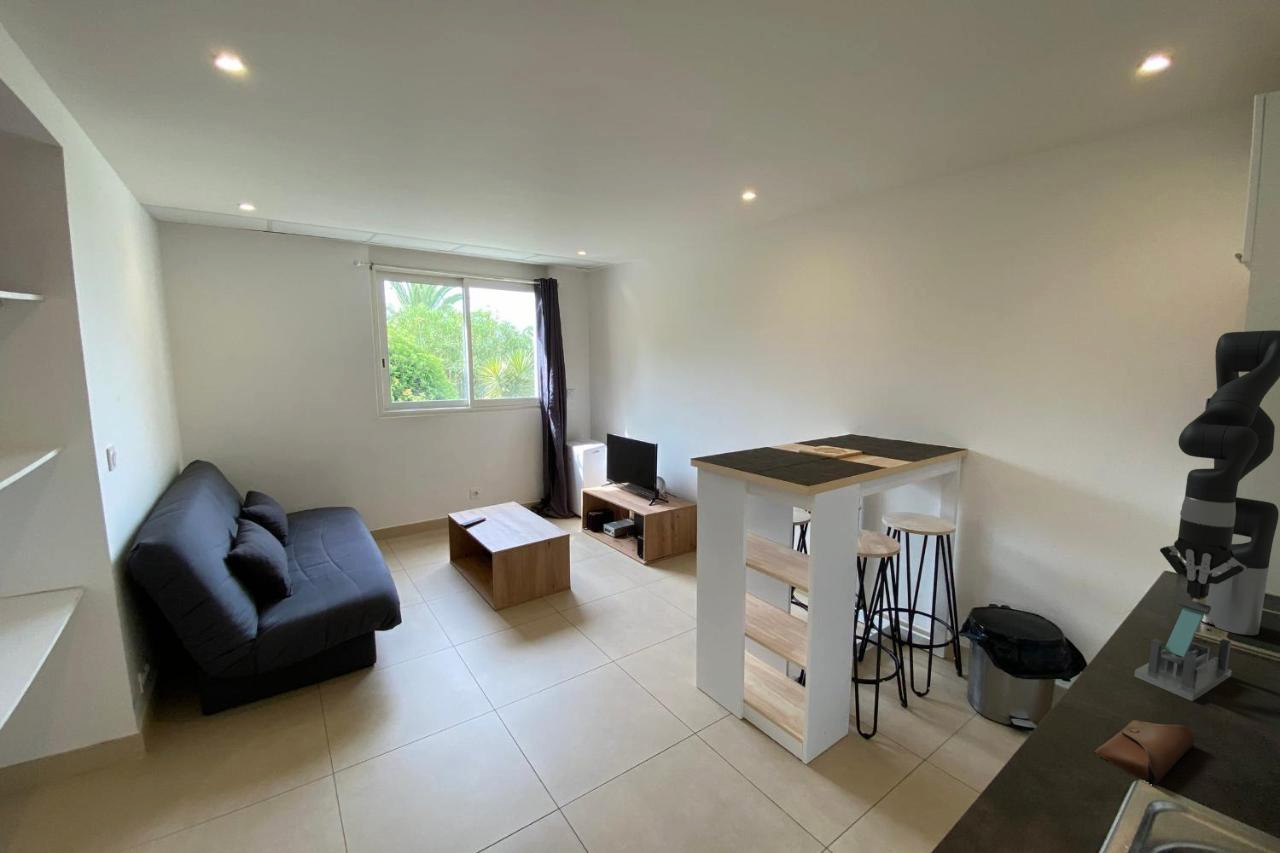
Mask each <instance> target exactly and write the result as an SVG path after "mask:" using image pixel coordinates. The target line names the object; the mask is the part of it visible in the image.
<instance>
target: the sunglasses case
mask: <svg viewBox="0 0 1280 853" xmlns="http://www.w3.org/2000/svg"><path fill="white" fill-rule="evenodd" d="M1195 739H1196V738H1195V735H1194V733H1193V732H1192V730H1191V729H1190V728H1189V727H1188V726H1186V725H1183V724H1164V723H1163V724H1161V723H1157V722H1155V723H1154V722H1149V721H1142V720H1136V719H1133V720H1131V721H1129V722H1128V724H1127V725H1125V727H1123V728H1122V729H1121V730H1120V731H1119V732H1118V733H1116V734H1115V735H1114V736H1112V737H1111V738H1110V739H1108V740H1107V741H1106V742H1105V743H1103V744H1102V745H1100V746H1099V747H1098V748H1097V749H1096V750H1095V751H1094V752H1096V753H1097V754H1099V755H1101V756H1102V757H1103V758H1104V759H1106V760H1108V761H1109V762H1111V763H1112V764H1111V763H1110V764H1111V765H1113V764H1114V765H1113V766H1115V765H1116V766H1115V767H1117V766H1118V767H1119V769H1120V768H1121V770H1122V769H1123V770H1122V771H1124V770H1125V772H1126V773H1128V774H1129V773H1130V774H1129V775H1131V774H1132V775H1131V776H1133V775H1134V776H1133V777H1135V778H1137V777H1138V778H1137V779H1139V778H1140V779H1142V780H1145V781H1146V782H1149V783H1150V784H1152V786H1151V787H1153V786H1154V787H1155V786H1157V784H1159V783H1160V782H1161V781H1162V780H1163V778H1164V777H1165V776H1166V774H1168V772H1169V771H1170V770H1171V769H1172V768H1173V767H1174V765H1176V763H1177V762H1178V761H1179V760H1180V759H1181V758H1182V757H1183V756H1184V755H1185V754H1186V753H1187V752H1188V751H1189V750H1190V749H1191V748H1192V747H1193V745H1194V743H1195ZM1104 759H1103V760H1104ZM1106 760H1105V761H1106ZM1108 761H1107V762H1108ZM1109 762H1108V763H1109ZM1118 767H1117V768H1118ZM1140 779H1139V780H1140ZM1142 780H1141V781H1142ZM1146 782H1145V783H1146ZM1150 784H1149V785H1150Z"/></svg>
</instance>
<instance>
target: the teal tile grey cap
mask: <svg viewBox="0 0 1280 853" xmlns="http://www.w3.org/2000/svg"><path fill="white" fill-rule="evenodd" d="M1205 604H1206V603H1205ZM1205 604H1204V603H1202V602H1198V601H1195V600H1192V599H1189V598H1184V597H1180V599H1179V601H1178V605H1179V606H1180V607H1183V608H1182V609H1181V612H1180V614H1179V616H1178V619H1177V621H1176V623H1175V625H1174V627H1173V628H1172V629H1173V630H1172V631H1171V633H1170V636H1169V638H1168V640H1167V643H1166V645H1165V646H1164V649H1163V650H1165V651H1167V652H1170V653H1172V654H1175V655H1178V656H1180V657H1183V658H1185V653H1186V652H1187V651H1188V649H1189V647H1190V645H1191V642H1192V641H1193V640H1194V637H1195V636H1196V633H1197V632H1198V628H1199V627H1200V624H1201V622H1202V620H1203V619H1204V613H1205V614H1209V612H1210V610H1211V607H1210V606H1208V605H1205ZM1165 651H1163V652H1162V654H1161V657H1162V658H1164V659H1167V660H1170V661H1172V662H1175V663H1177V664H1180V665H1182V664H1183V662H1184V659H1183V658H1180V657H1178V656H1175V655H1172V654H1170V653H1167V652H1165Z"/></svg>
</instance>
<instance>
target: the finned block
mask: <svg viewBox="0 0 1280 853" xmlns="http://www.w3.org/2000/svg"><path fill="white" fill-rule="evenodd" d="M1231 645H1232V641H1230V640H1228V639H1225V638H1222V639H1221V640H1220V641H1219V651H1218V656H1214V657H1212V658H1211V659H1209V658H1210V651H1211V647H1209V646H1207V645H1203V644H1200V643H1198V642H1195V641H1193V640H1192V642H1191V645H1190V647H1189V649H1188V651H1187V652H1186V653H1185V658H1183V657H1180V656H1178V655H1175V654H1172V653H1170V652H1167V651H1165V650H1164V649H1163V640H1160V639H1158V638H1153V639H1152V640H1151V642H1150V649H1149V651H1150V652H1149V659H1148V662H1147V663H1146V664H1144V665H1142V666H1140V667H1137V668H1135V669H1134V677H1135V678H1138V679H1140V680H1142V681H1143V682H1146V683H1149V684H1152V685H1153V686H1156V687H1157V688H1161V689H1163V690H1165V691H1167V692H1169V693H1172V694H1174V695H1177V696H1179V697H1181V698H1184V699H1186V700H1187V701H1190V702H1194V701H1195V700H1196V699H1198V698H1200V697H1201V696H1203V695H1205V694H1206V693H1207V692H1209V691H1210V690H1212V689H1214V688H1216V687H1217V686H1218V685H1220V684H1221V683H1223V682H1224V681H1226V680H1227V679H1229V678H1230V677H1231V675H1232V669H1229V667H1228V666H1229V662H1230V652H1231V648H1232V647H1231ZM1163 651H1165V652H1167V653H1170V654H1172V655H1175V656H1178V657H1180V658H1183V659H1184V662H1183V664H1182V665H1180V664H1177V663H1175V662H1172V661H1170V660H1167V659H1164V658H1162V657H1161V654H1162V652H1163Z"/></svg>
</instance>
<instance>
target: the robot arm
mask: <svg viewBox="0 0 1280 853" xmlns="http://www.w3.org/2000/svg"><path fill="white" fill-rule="evenodd" d="M1214 358H1215V376H1216V377H1215V379H1216V391H1215V392H1214V393H1213V394H1212V396H1211V398H1210V399H1209V401H1208V404H1207V406H1206V408H1205V410H1204V411H1203V412H1201V414H1200V415H1199V416H1197V417H1196V418H1195V419H1193V420H1192V421H1191V422H1190V423H1188V424H1187V425H1186V426H1185V427H1184V429H1183V430H1182V431H1181V433H1180V435H1179V437H1178V446H1179V448H1180V450H1181V452H1182V453H1184V454H1185V455H1186V456H1189V457H1195V458H1205V459H1213V468H1195V469H1192V470H1190V471H1189V472H1188V474H1187V477H1186V485H1185V491H1184V492H1185V493H1184V498H1183V502H1182V503H1181V510H1180V511H1179V512H1180V513H1179V514H1180V519H1179V526H1178V527H1179V528H1178V533H1177V534H1178V535H1177V539H1176V540H1175V541H1174V543H1173V544H1172V545H1170V546H1169V545H1167V546H1163V547H1160V549H1159V551H1160V553H1161V554H1162V556H1163V557H1164V558H1165V560H1166V561H1167V562H1168V563H1169V565H1170V566H1171V568H1172V569H1173V570H1174V572H1176V574H1177V575H1179V576H1181V575H1182V576H1183V577H1185V578H1186V579H1187V585H1186V586H1187V587H1186V592H1187V594H1188V595H1189V598H1193V599H1195V600H1199V601H1200V600H1203V599H1205V598H1206V599H1205V605H1208V606H1210V607H1211V610H1210V612H1209V614H1205V613H1204V615H1205V616H1207V617H1209V618H1210V619H1211V620H1212V621H1213V623H1214V625H1215V627H1214V628H1216V629H1219V630H1222V631H1225V632H1229V633H1233V634H1239V635H1245V636H1256V635H1259V632H1260V627H1261V620H1262V615H1263V610H1264V609H1263V608H1264V601H1265V594H1266V589H1267V581H1268V575H1269V567H1270V561H1271V554H1272V548H1273V543H1274V538H1275V534H1276V530H1277V526H1278V523H1279V515H1280V514H1279V507H1277V505H1276V504H1275V503H1273V502H1270V501H1269V502H1268V501H1265V500H1258V499H1251V498H1243V497H1239V496H1238V497H1237V493H1238V487H1239V486H1238V485H1239V483H1240V481H1241V480H1243V478H1245V476H1247V475H1248V474H1249V473H1250V472H1252V471H1254V470H1255V469H1256V468H1257V467H1259V466H1260V465H1262V464H1263V463H1264V462H1265V461H1267V459H1269V458H1270V456H1271V454H1273V451H1274V447H1275V446H1274V444H1275V443H1274V442H1275V432H1276V430H1275V429H1276V427H1275V426H1276V425H1275V423H1274V422H1273V420H1272V419H1271V417H1270V416H1269V415H1268V414H1267V412H1266V411H1265V410H1264V409H1263V408H1262V407H1261V406H1260V405H1261V403H1262V401H1263V399H1264V398H1265V396H1266V395H1267V393H1268V392H1269V391H1270V390H1271V389H1272V388H1273V386H1274V385H1275V384H1276V383H1277V381H1278V380H1279V379H1280V330H1279V329H1278V330H1272V329H1271V330H1251V331H1250V330H1248V331H1247V330H1246V331H1231V332H1225V333H1223V334H1221V336H1220V337H1219V338H1218V340H1217V342H1216V347H1215V357H1214ZM1239 372H1240V373H1241V372H1242V373H1246V374H1243V375H1241V376H1240V374H1239ZM1234 535H1238V536H1243V537H1248V538H1250V540H1249V541H1248V542H1247V541H1246V542H1242V543H1233V536H1234ZM1179 554H1180V556H1181V557H1182V559H1183V560H1184V561H1185V562H1186V563H1184V561H1182V559H1181V557H1180V556H1179Z"/></svg>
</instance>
